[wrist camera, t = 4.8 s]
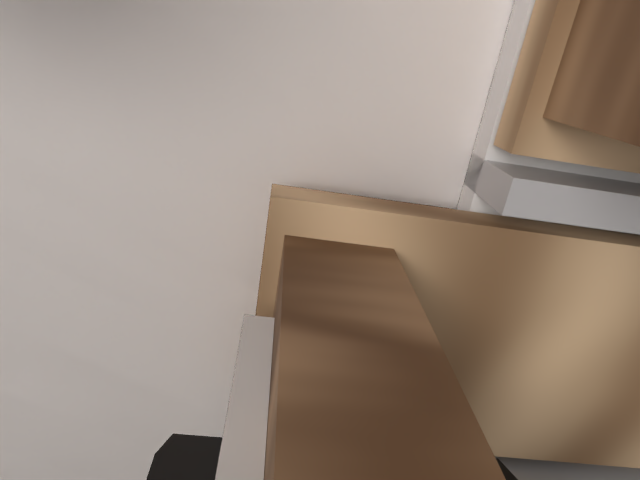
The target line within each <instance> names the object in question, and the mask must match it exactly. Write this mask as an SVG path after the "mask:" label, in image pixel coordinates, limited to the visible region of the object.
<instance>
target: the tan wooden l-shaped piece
mask: <svg viewBox="0 0 640 480" xmlns="http://www.w3.org/2000/svg"><path fill="white" fill-rule="evenodd" d="M255 316H263V317H272V318H275V319H274V334H273V349H272V363H271V378H270V393H269V407H268V422H267V437H266V451H265V466H264V480H506V479H505V477H504V475H503V473H502V471H501V468H500V466H499V464H498V462H497V460H496V458H495V456H497V457H509V458H521V459H533V460H545V461H557V462H569V463H581V464H593V465H605V466H617V467H629V468H640V235H636V234H628V233H621V232H614V231H607V230H600V229H592V228H585V227H578V226H571V225H564V224H557V223H549V222H542V221H535V220H528V219H521V218H514V217H506V216H499V215H492V214H485V213H478V212H471V211H463V210H456V209H449V208H442V207H435V206H428V205H420V204H413V203H406V202H399V201H392V200H385V199H377V198H370V197H363V196H356V195H349V194H342V193H334V192H327V191H320V190H313V189H306V188H298V187H291V186H284V185H277V184H272V189H271V196H270V204H269V212H268V220H267V228H266V236H265V244H264V252H263V260H262V268H261V275H260V283H259V291H258V299H257V307H256V315H255Z"/></svg>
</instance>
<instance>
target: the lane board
mask: <svg viewBox="0 0 640 480" xmlns="http://www.w3.org/2000/svg"><path fill="white" fill-rule="evenodd" d="M535 1H536V0H515V1H514V5H513V8H512V12H511V16H510V19H509V23H508V26H507V30H506V34H505V37H504V41H503V44H502V48H501V52H500V55H499V59H498V62H497V66H496V70H495V73H494V77H493V80H492V84H491V88H490V91H489V95H488V98H487V102H486V106H485V109H484V113H483V116H482V120H481V124H480V127H479V131H478V134H477V138H476V141H475V145H474V149H473V152H472V156H471V159H470V163H469V167H468V170H467V174H466V177H465V181H464V185H463V188H462V192H461V195H460V199H459V203H458V206H457V210H463V211H471V212H478V213H485V214H492V215H499V216H506V217H514V218H521V219H528V220H535V221H542V222H549V223H557V224H564V225H571V226H578V227H585V228H592V229H600V230H607V231H614V232H621V233H628V234H636V235H640V174H639V173H633V172H626V171H620V170H613V169H607V168H600V167H594V166H587V165H581V164H574V163H568V162H561V161H555V160H548V159H542V158H535V157H529V156H522V155H516V154H511V153H509V152H507V151H505V150H503V149H501V148H499V147H497V146H495V145H493V144H494V141H495V137H496V134H497V131H498V127H499V124H500V120H501V117H502V113H503V110H504V107H505V103H506V100H507V96H508V93H509V89H510V86H511V83H512V79H513V76H514V72H515V69H516V66H517V62H518V59H519V55H520V52H521V48H522V45H523V42H524V38H525V35H526V31H527V28H528V25H529V21H530V18H531V14H532V11H533V7H534V4H535ZM495 458H498V459H499V460H500V461H501V462H502V463H503V464H504V465H505V466H506V467H507V468H508V470H509V471H510V472H511V473H512V474H513V475H514V476H515V477H516V478H517V479H518V480H640V468H629V467H617V466H605V465H593V464H581V463H569V462H557V461H545V460H533V459H521V458H509V457H497V456H495Z"/></svg>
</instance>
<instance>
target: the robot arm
mask: <svg viewBox="0 0 640 480" xmlns="http://www.w3.org/2000/svg"><path fill="white" fill-rule="evenodd" d="M274 319H275V318H272V317H263V316H254V315H244V320H243V326H242V332H241V337H240V343H239V348H238V354H237V360H236V365H235V371H234V376H233V382H232V387H231V393H230V399H229V404H228V410H227V415H226V421H225V426H224V432H223V438H220V437H208V436H195V435H183V434H172V435H171V437H170V438H169V439H168V440H167V441H166V442H165V443H164V444H163V446H162V447H161V448H160V449H159V450H158V451H157V452H156V453H155V456H154V459H153V462H152V464H151V467H150V470H149V473H148V476H147V480H264V466H265V451H266V437H267V422H268V407H269V393H270V378H271V363H272V349H273V334H274ZM496 460H497V462H498V464H499V466H500V468H501V471H502V473H503V475H504V477H505V479H506V480H518V479H517V478H516V477H515V476H514V475H513V474H512V473H511V472H510V471H509V470H508V468H507V467H506V466H505V465H504V464H503V463H502V462H501V461H500V460H499V459H498V458H496Z"/></svg>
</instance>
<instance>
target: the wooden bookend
mask: <svg viewBox="0 0 640 480" xmlns="http://www.w3.org/2000/svg"><path fill="white" fill-rule="evenodd" d="M493 145H495V146H497V147H499V148H501V149H503V150H505V151H507V152H509V153H511V154H516V155H522V156H529V157H535V158H542V159H548V160H555V161H561V162H568V163H574V164H581V165H587V166H594V167H600V168H607V169H613V170H620V171H626V172H633V173H639V174H640V0H536V1H535V4H534V7H533V11H532V14H531V18H530V21H529V25H528V28H527V31H526V35H525V38H524V42H523V45H522V48H521V52H520V55H519V59H518V62H517V66H516V69H515V72H514V76H513V79H512V83H511V86H510V89H509V93H508V96H507V100H506V103H505V107H504V110H503V113H502V117H501V120H500V124H499V127H498V131H497V134H496V137H495V141H494V144H493Z"/></svg>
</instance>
